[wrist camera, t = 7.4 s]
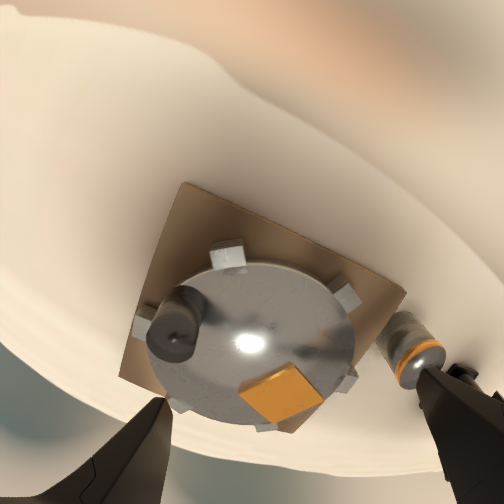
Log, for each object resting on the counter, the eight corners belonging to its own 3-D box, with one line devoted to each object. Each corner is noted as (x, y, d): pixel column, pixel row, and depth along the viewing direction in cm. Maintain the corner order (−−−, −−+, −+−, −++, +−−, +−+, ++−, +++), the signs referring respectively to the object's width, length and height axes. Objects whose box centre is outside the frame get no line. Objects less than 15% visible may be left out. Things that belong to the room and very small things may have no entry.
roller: (424, 319, 20) (454, 352, 16) (397, 356, 22) (421, 392, 17) (394, 304, 20) (425, 339, 15) (365, 345, 21) (388, 385, 16)
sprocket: (277, 190, 16) (292, 205, 10) (391, 346, 19) (421, 392, 14) (106, 336, 19) (74, 383, 14) (235, 435, 23) (234, 483, 17)
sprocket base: (400, 287, 19) (407, 293, 18) (291, 426, 24) (292, 434, 23) (185, 182, 17) (181, 183, 16) (122, 369, 21) (118, 377, 20)
